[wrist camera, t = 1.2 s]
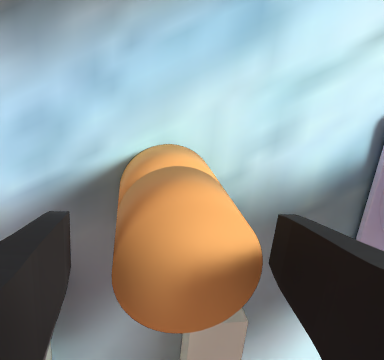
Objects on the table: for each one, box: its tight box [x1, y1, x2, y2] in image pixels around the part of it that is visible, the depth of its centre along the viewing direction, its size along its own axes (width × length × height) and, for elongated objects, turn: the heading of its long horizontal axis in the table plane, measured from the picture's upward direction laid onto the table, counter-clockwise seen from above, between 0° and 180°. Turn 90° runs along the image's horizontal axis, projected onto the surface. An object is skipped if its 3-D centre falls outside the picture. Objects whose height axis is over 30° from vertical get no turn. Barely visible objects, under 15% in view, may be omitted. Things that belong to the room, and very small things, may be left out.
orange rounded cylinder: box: [112, 144, 263, 333], centre depth 13 cm, size 4×4×6 cm
